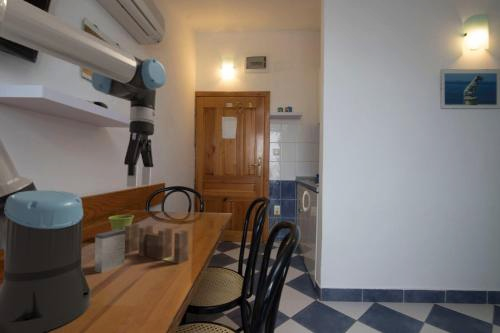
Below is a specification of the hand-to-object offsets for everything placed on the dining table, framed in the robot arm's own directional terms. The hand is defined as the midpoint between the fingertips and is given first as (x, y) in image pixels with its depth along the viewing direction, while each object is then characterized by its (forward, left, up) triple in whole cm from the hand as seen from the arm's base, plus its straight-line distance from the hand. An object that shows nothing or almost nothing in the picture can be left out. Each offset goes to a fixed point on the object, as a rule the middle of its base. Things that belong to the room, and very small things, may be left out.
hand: (139, 186), depth 83 cm
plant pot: (+12, +23, -23) cm, 35 cm away
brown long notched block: (+2, -6, -23) cm, 23 cm away
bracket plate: (-11, -2, -23) cm, 25 cm away
